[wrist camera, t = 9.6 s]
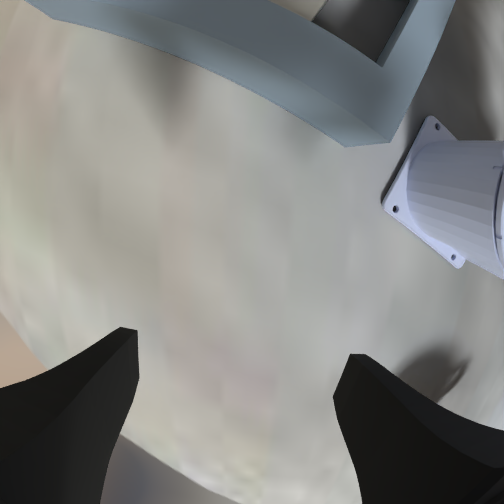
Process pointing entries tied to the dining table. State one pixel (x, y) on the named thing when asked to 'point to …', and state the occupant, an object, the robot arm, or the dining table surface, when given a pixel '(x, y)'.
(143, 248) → the dining table surface
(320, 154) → the dining table surface
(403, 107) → the box
